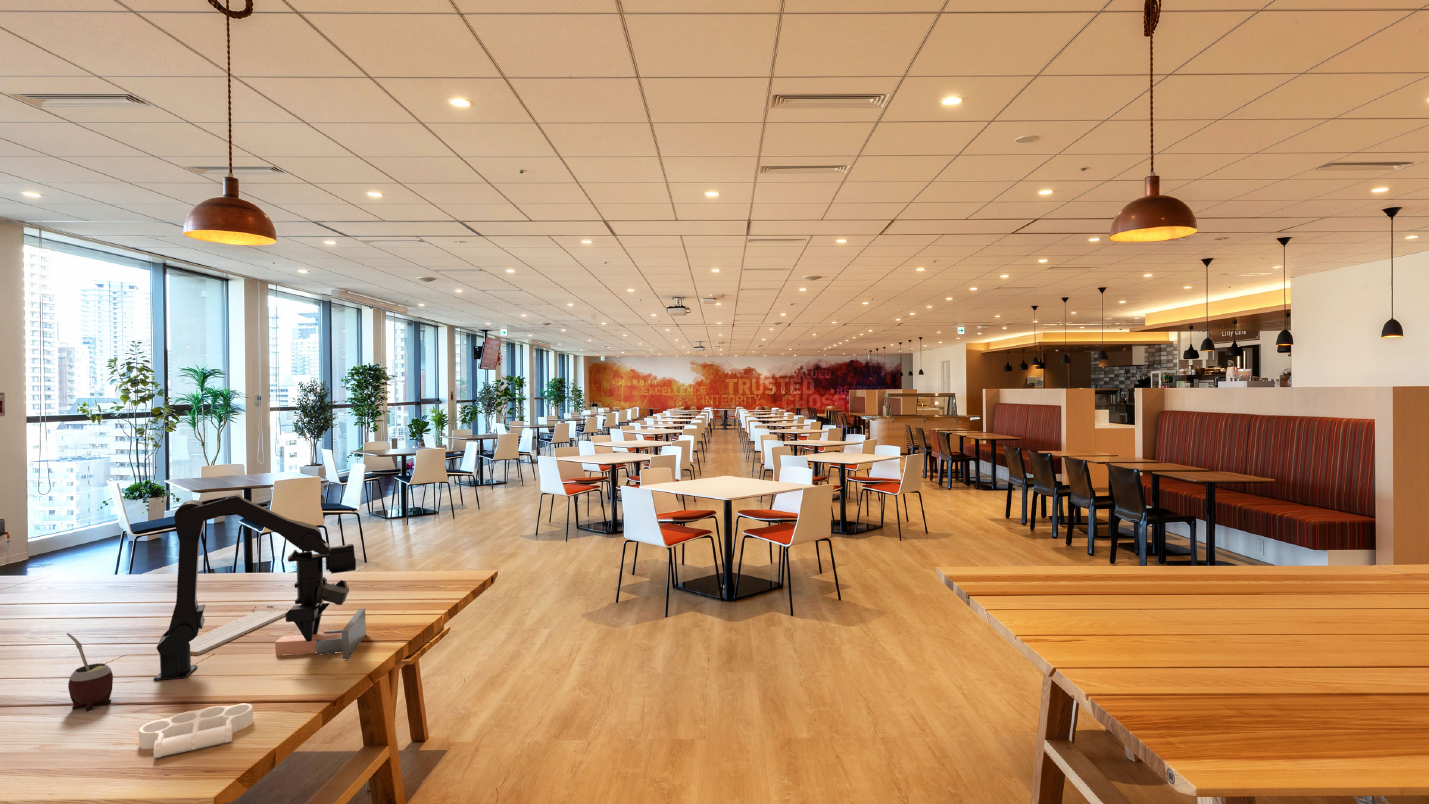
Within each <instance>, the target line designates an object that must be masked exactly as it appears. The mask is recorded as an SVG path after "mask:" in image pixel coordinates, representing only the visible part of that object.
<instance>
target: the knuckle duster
mask: <svg viewBox="0 0 1429 804" xmlns="http://www.w3.org/2000/svg"><path fill="white" fill-rule="evenodd" d="M253 723H254V707H253V705H252V704H251V703H242V702H241V703H238V704H234V705H216V706H209V707H205V708H202V709H201V708H200V709H197V710H188V711H185V712H180V713H177V714H175V715H172V716H170V717H167V718H163V719H156V720H153V721H149V722H148V723H145V724H143V725H142V726H141V727H140V728H139V729H138V746H139V748H140V749H143V750H151V749H152V750H153V758H154V759H160V758H162V757H165V756H171V755H176V754H180V753H185V752H190V751H196V750H200V749H204V748H208V747H213V746H217V745H223V744H228V743H231V742H233V734H234V733H236V732H237V731H240V730H244V729H246V728H247V727H249V726H250V725H252V724H253Z"/></svg>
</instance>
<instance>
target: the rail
mask: <svg viewBox="0 0 1429 804" xmlns="http://www.w3.org/2000/svg"><path fill="white" fill-rule="evenodd" d="M332 638H342V633H331V634H324V633H317V634H313V636H312V641H309V642H307V641H306V640H305V638H304V636H303V635H302V634H299V635H296V634H295V635H283V636H282V635H281V636H280V638H278V639H277V640H275V643H274V645H275V646H274V647H275V656H276V655H277V656H284V655H283V654H293V655H303V654H304V655H306V653H310V654H315V653H314V652H317V647H316V641H317V640H320V639H332Z"/></svg>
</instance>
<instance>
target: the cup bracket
mask: <svg viewBox="0 0 1429 804" xmlns="http://www.w3.org/2000/svg"><path fill="white" fill-rule="evenodd" d="M366 630H367V628H366V608H363V607H362V608H358V609H357V611H356V612H355V614H354V615H353V616H352V617H351V618H350V620H349V621H348V623H346V625H345V626H344V627H343V629H342V628H341V629H331V630H330V629H329V630H324V631H323V634H331V633H342V638H332V639H320V640H317V641H316V647H317V653H316V656H321V655H320V654H324V655H332V654H331V653H335V652H342V653H341V659H349V658H350V659H351V657H352V656H353V655H354V653H355V652H356V650H357V648H358V647H359V645H360V644H361V643H362V641H363V639H364V638H365V636H366V633H367V631H366ZM353 652H354V653H353ZM335 654H336V653H335ZM351 655H352V656H351ZM350 659H349V660H350Z"/></svg>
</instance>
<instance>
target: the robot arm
mask: <svg viewBox="0 0 1429 804" xmlns="http://www.w3.org/2000/svg"><path fill="white" fill-rule="evenodd" d="M228 514H234V515H237V516H239V517H241V518H244V519H245V520H248V521H250V522H251V523H254V524H257V525H259V526H261V527H263V528H265V529H267V530H270V531H272V532H274V533H276V534H278V535H280V536H282V537H283V538H284V539H285V540H287V542H289V544H290V543H291V544H292V545H293V546H295V547H296V548H297V549H299V550H300V552H299V550H296V549H294V550H293V552H291V554H289V555H288V556H287V561H288V562H289V563H290V562H296V582H295V583H294V589H296V591H297V594H296V595H297V598H296V599H295V600H294V604H295V605H293V606H292V607H291V608H290V609H288V611H286V612H287V613H286V616H285V622H286V623H290V622H291V623H292V622H293V623H294V624H295V625H296V627H297V628H298V631H300V633H301V635H303V636H304V638H305V640H306V641H307V642H309V641H312V636H313V634H318V632H319V628H320V622H321V619H322V616H323V615H322V614H323V612H324V611H325V610H326V609H327V608H328V607H329V606H330V603H332V604H335V605H336V606H337V605H338V606H342V605H343V604H344V602H346V600H347V596H348V594H349V592H350V588H349V586H348V584H347V581H346V580H342V579H340V580H339V581H338V582H337V583H336V584H335V583H328V580H327V579H328V578H326V576H324V565H323V563H325V571H328V572H330V574H331V575H332V574H339V573H340V574H341V573H347V572H355V571H356V570H357V569H356V568H357V559H356V557H355V556H356V554H355V546H354V543H353V544H352V543H351V544H350V543H349V544H345V545H337V546H330V544H329V542H326V540H325V539H323V535H322V532H321V529H320V528H319V527H318V526H317V525H314V524H310V523H307V522H304V521H299V520H294V519H289V518H287V517H285V516H283V515H281V514H278V513H277V512H274V511H272V510H270V509H268V508H265V507H263V506H261V505H259V504H258V503H255V502H253V501H251V500H248V499H246V498H245V497H243V496H242V495H240V494H238V493H232V494H229V495H226V496H222V497H215V498H210V499H207V500H203V501H200V500H195V499H191V500H186V501H184V502H183V503H182V504H181V505H180V506H179V507H178V508H177V509H176V511H175V512H174V519H173V520H174V526H175V532H176V534H177V539H178V542H179V544H178V546H179V547H178V548H179V549H178V564H177V565H178V566H177V579H176V580H177V582H176V583H177V584H176V585H177V586H176V601H175V602H176V603H175V606H174V609H173V612H172V616H171V620H170V623H169V627H168V629H167V630H166V631H165V632H164V633H163V634H162V635H161V637H160V640H159V642H158V643H157V646H156V650H157V652H158V654H159V667H160V668H159V669H160V672H159V673H158V674H157V675H155V676H154V677H153V681H159V680H171V679H173V680H174V679H181V678H182V679H183V678H186V677H187V676H189V675H190V674H191V673H192V672H193V671H194V670H196V669H197V668H198V664H191V662H192V659H191V658H192V657H191V656H192V655H191V653H190V644H189V642H190V641H192V640H193V639H194V638H195V637H197V636H198V634H199V631H200V630H202V629H203V628H204V624H205V621H206V619H205V617H204V611H205V608H206V604H201V605H199V603H198V597H197V594H198V576H199V575H198V574H199V559H200V558H199V555H200V540H201V536H202V533H203V529H204V526H205V522H206V521H209V520H213V519H216V518H218V517H222V516H225V515H228ZM301 551H303V552H301ZM313 552H314V553H313ZM323 559H324V560H325V562H324V561H323Z"/></svg>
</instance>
